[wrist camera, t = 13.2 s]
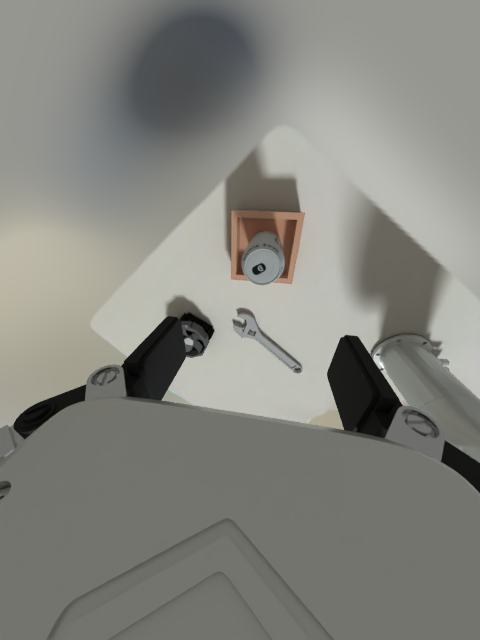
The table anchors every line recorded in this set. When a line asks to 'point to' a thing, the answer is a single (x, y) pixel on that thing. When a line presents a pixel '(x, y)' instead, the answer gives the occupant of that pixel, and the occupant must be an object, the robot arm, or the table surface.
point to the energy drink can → (263, 258)
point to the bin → (256, 221)
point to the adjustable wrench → (264, 340)
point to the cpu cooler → (195, 335)
